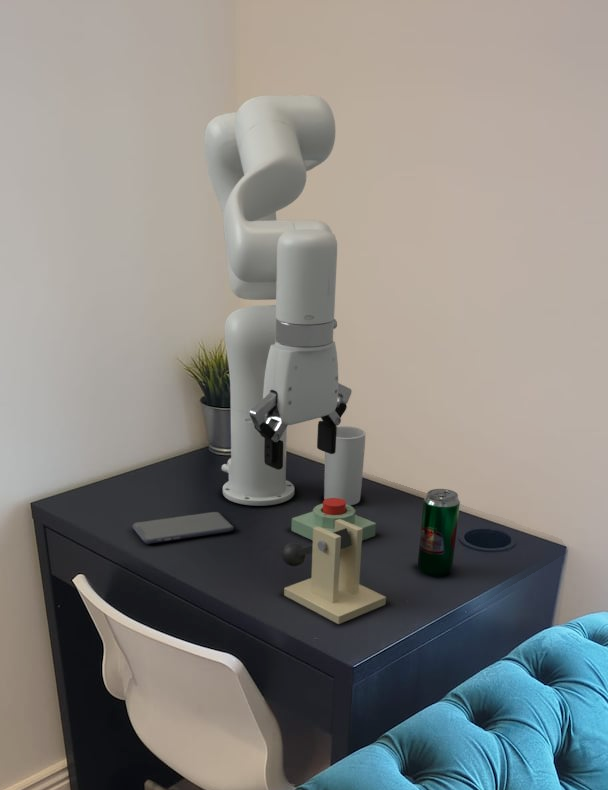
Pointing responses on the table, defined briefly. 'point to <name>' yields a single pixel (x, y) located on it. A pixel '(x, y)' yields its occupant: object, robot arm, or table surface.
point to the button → (334, 506)
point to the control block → (330, 522)
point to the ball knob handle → (308, 549)
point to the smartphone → (182, 527)
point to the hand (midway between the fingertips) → (300, 458)
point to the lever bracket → (336, 577)
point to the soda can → (438, 532)
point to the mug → (345, 466)
